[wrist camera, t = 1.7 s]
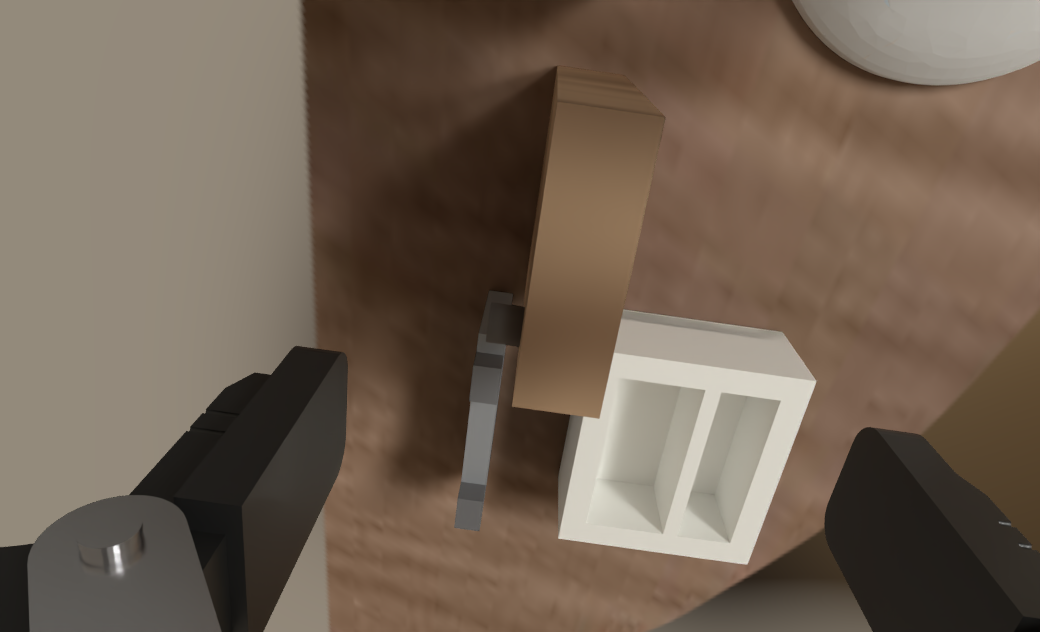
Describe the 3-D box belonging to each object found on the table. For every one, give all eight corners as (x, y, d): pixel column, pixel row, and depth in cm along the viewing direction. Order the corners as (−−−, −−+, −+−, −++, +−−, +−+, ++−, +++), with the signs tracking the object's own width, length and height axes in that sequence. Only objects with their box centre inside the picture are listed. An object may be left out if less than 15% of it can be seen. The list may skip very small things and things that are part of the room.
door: (529, 61, 24) (512, 94, 14) (623, 75, 24) (665, 117, 15) (502, 268, 27) (475, 401, 18) (585, 280, 27) (599, 418, 18)
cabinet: (489, 290, 27) (475, 346, 23) (782, 331, 27) (826, 396, 23) (468, 464, 31) (452, 541, 27) (725, 500, 31) (753, 583, 27)
